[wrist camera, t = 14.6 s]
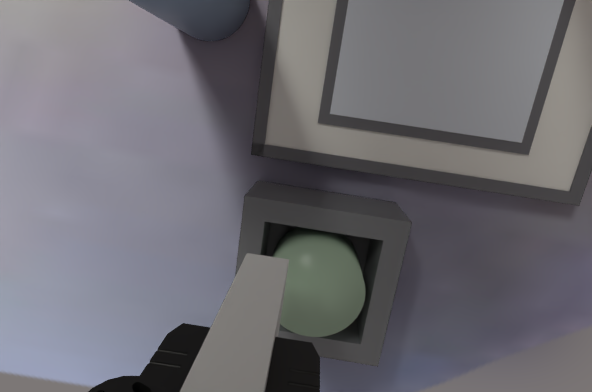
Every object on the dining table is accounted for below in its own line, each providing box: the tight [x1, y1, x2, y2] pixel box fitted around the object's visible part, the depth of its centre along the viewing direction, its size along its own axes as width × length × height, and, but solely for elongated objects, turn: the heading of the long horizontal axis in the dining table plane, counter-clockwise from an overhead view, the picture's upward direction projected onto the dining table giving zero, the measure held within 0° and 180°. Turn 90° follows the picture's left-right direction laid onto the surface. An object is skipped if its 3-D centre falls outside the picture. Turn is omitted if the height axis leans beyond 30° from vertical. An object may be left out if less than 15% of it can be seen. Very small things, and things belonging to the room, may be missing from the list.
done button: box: [272, 227, 365, 337], centre depth 17 cm, size 4×4×3 cm
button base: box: [235, 181, 412, 366], centre depth 18 cm, size 7×7×3 cm
